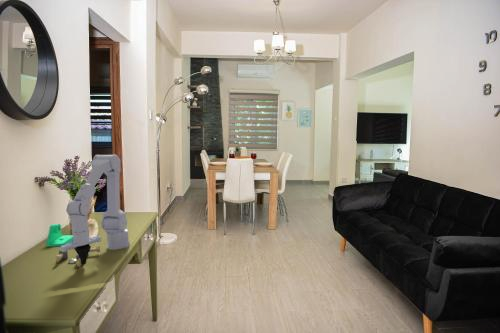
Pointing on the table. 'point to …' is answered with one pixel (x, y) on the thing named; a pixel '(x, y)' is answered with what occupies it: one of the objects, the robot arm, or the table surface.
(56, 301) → the table surface
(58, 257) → the knob
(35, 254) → the table surface
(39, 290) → the table surface
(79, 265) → the knob
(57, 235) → the camera mount
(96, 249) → the knob
